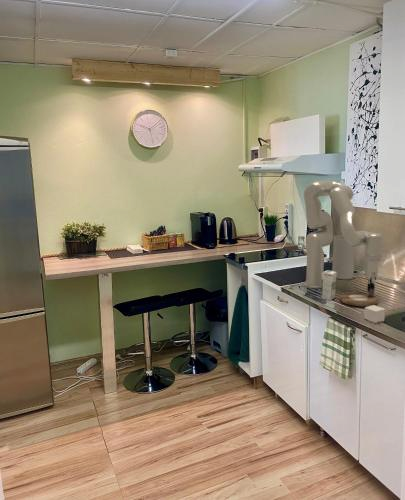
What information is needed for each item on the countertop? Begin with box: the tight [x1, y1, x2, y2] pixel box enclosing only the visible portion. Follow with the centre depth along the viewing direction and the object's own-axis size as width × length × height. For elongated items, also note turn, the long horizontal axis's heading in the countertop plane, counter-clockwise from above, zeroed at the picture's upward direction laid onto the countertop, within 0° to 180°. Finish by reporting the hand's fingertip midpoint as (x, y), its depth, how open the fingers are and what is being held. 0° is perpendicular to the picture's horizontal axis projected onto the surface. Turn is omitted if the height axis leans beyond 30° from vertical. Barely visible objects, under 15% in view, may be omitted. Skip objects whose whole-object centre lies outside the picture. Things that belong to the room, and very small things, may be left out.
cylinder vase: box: [331, 234, 356, 281], centre depth 254 cm, size 12×12×25 cm
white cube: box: [363, 304, 386, 322], centre depth 188 cm, size 6×6×6 cm
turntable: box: [339, 288, 378, 307], centre depth 211 cm, size 18×18×6 cm
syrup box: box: [320, 270, 337, 301], centre depth 217 cm, size 6×6×14 cm
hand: (370, 291), depth 215 cm, fingers closed
